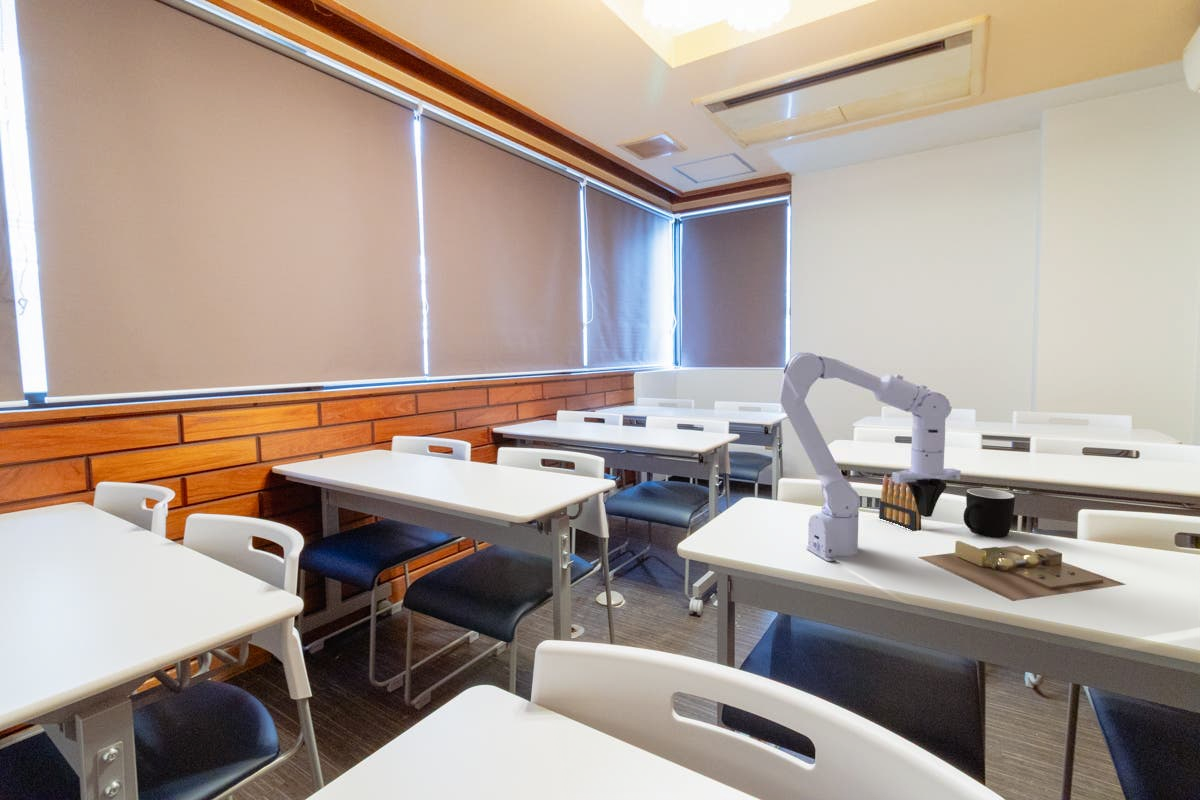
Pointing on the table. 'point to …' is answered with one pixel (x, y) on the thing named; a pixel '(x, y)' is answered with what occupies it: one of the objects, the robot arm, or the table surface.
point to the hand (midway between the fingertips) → (924, 515)
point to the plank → (1008, 576)
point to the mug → (989, 512)
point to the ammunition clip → (899, 505)
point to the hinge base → (1055, 573)
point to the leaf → (996, 557)
